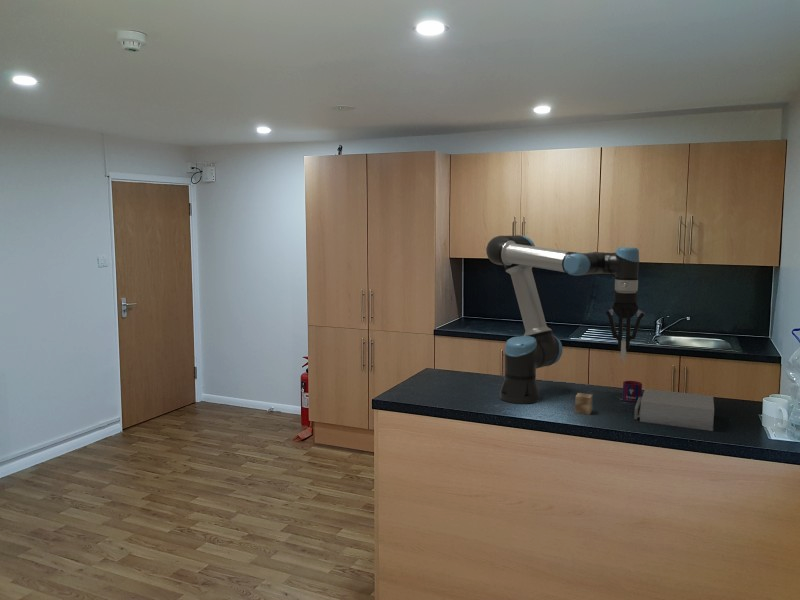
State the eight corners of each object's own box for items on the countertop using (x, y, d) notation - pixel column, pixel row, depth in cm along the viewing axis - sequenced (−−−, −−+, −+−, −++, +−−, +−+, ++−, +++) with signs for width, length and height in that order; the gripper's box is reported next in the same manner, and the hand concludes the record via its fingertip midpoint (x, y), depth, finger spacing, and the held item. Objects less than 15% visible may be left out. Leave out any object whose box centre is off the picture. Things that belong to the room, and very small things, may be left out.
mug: (621, 401, 229) (622, 383, 228) (624, 394, 238) (625, 378, 237) (640, 403, 226) (641, 385, 225) (642, 397, 234) (643, 379, 234)
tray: (634, 419, 206) (634, 408, 206) (638, 406, 220) (638, 396, 220) (691, 426, 198) (691, 415, 198) (691, 413, 213) (692, 402, 212)
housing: (639, 421, 204) (640, 401, 204) (644, 407, 220) (645, 388, 220) (712, 431, 195) (714, 409, 194) (711, 415, 211) (713, 396, 210)
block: (575, 412, 214) (575, 396, 214) (577, 409, 219) (578, 392, 218) (589, 414, 212) (590, 398, 211) (591, 410, 217) (592, 394, 216)
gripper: (604, 292, 210) (602, 358, 213) (645, 293, 204) (642, 362, 207) (607, 290, 217) (605, 354, 219) (647, 291, 211) (643, 358, 214)
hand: (623, 358), depth 213 cm, fingers closed
